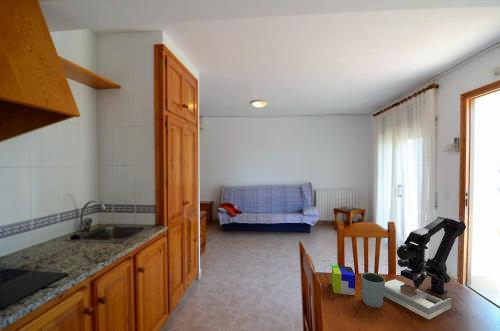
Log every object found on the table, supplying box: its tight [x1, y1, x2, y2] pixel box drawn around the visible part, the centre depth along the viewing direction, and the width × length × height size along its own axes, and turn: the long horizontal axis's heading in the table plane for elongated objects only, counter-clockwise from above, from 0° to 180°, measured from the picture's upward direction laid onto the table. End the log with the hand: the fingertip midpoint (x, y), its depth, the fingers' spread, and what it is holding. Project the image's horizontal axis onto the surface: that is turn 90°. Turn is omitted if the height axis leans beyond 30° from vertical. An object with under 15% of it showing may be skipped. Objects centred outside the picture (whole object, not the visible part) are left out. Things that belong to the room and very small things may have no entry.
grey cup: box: [360, 272, 386, 308], centre depth 115 cm, size 10×10×12 cm
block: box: [400, 283, 417, 297], centre depth 120 cm, size 5×5×3 cm
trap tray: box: [383, 279, 452, 320], centre depth 118 cm, size 18×26×4 cm
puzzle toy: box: [331, 264, 356, 296], centre depth 127 cm, size 10×10×10 cm
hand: (416, 288), depth 123 cm, fingers closed
